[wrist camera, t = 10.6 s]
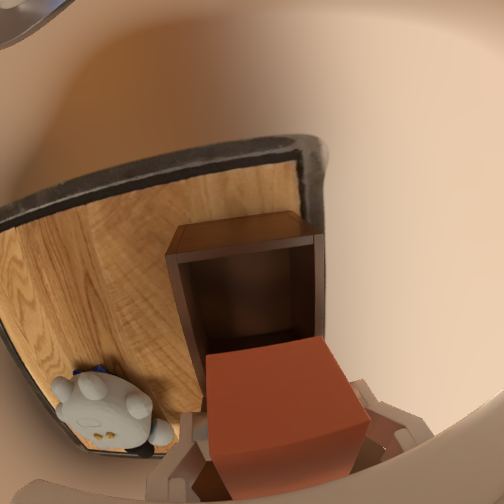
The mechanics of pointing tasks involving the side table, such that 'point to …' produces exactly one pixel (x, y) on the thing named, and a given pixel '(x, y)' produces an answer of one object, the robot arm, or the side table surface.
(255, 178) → the side table surface
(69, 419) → the figurine
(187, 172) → the side table surface
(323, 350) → the block
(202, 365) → the chest
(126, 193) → the side table surface
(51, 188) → the side table surface
